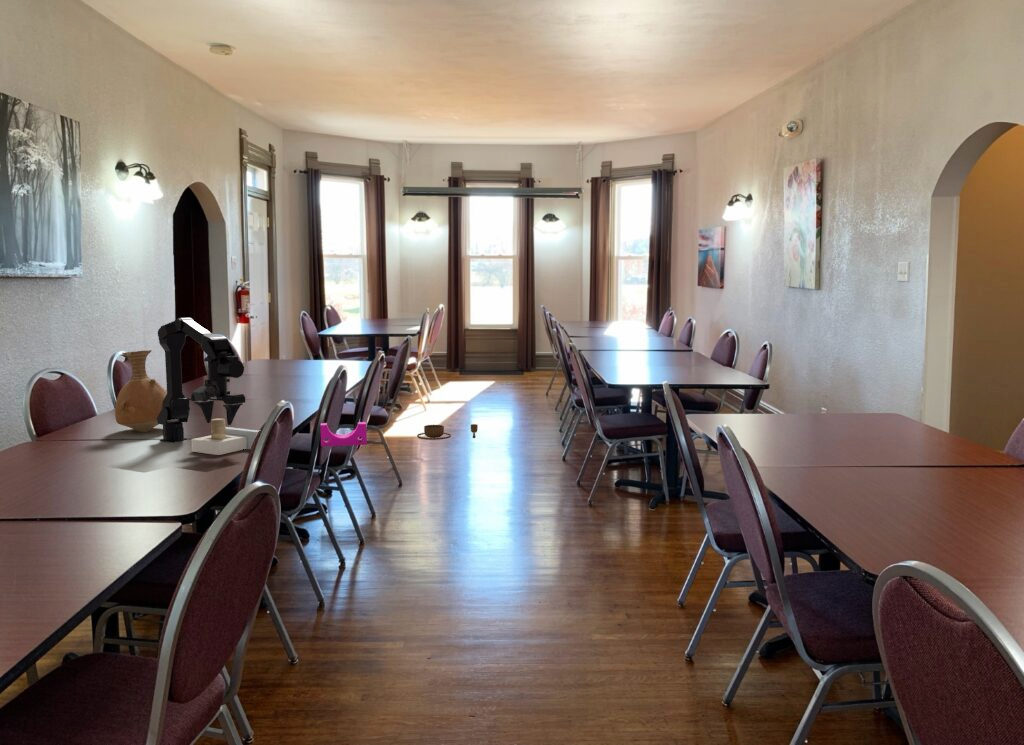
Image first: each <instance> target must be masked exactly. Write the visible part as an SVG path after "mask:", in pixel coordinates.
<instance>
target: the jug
mask: <svg viewBox="0 0 1024 745" xmlns="http://www.w3.org/2000/svg"><path fill="white" fill-rule="evenodd" d="M151 352H152V350H150V349H148V350H147V349H146V350H137V351H126V352H121V353H122V355H123V356H125V357H126V358H127V359H128V361H129V364H130V366H131V377H130V379H129V380H128V381H127V382H125V384H124V385H123V386H122V387H121V389H120V391H119V392H118V395H117V398H116V402H115V407H114V408H115V409H114V417H115V422H116V423H117V424H118V425H120V426H124V427H127V428H130V429H133V430H135V431H137V432H139V433H148V432H150V431H151V430H152V429H153V428H155V427H157V426H158V425H160V424H158V422H157V417H158V415H159V413H160V412H161V410H162V402H163V400H164V398H165V396H166V395H167V391H166V390H165V388H163V387H162V385H161V384H159V382H157V380H156V379H155V378H150V377H149V376H148V374H147V369H146V362H147V357H148V355H149V354H150V353H151Z"/></svg>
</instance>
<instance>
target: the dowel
mask: <svg viewBox="0 0 1024 745" xmlns="http://www.w3.org/2000/svg"><path fill="white" fill-rule="evenodd" d="M225 427H226V419H225V418H213V419H212V418H211V422H210V432H211V433H210V434H211V439H213V440H223V439H226V428H225Z"/></svg>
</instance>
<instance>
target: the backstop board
mask: <svg viewBox="0 0 1024 745" xmlns="http://www.w3.org/2000/svg"><path fill="white" fill-rule="evenodd" d="M225 428H226V434H228V435H236V436H245V437H247V449H246V450H251V449H250V447H251V445H252V443H253V441H254V439H255V438H256V436H257V434H258V432H259V431H260V430H259V429H258V430H256V429H248V428H239V427H238V428H237V427H232V426H231V427H230V426H225Z"/></svg>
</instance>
